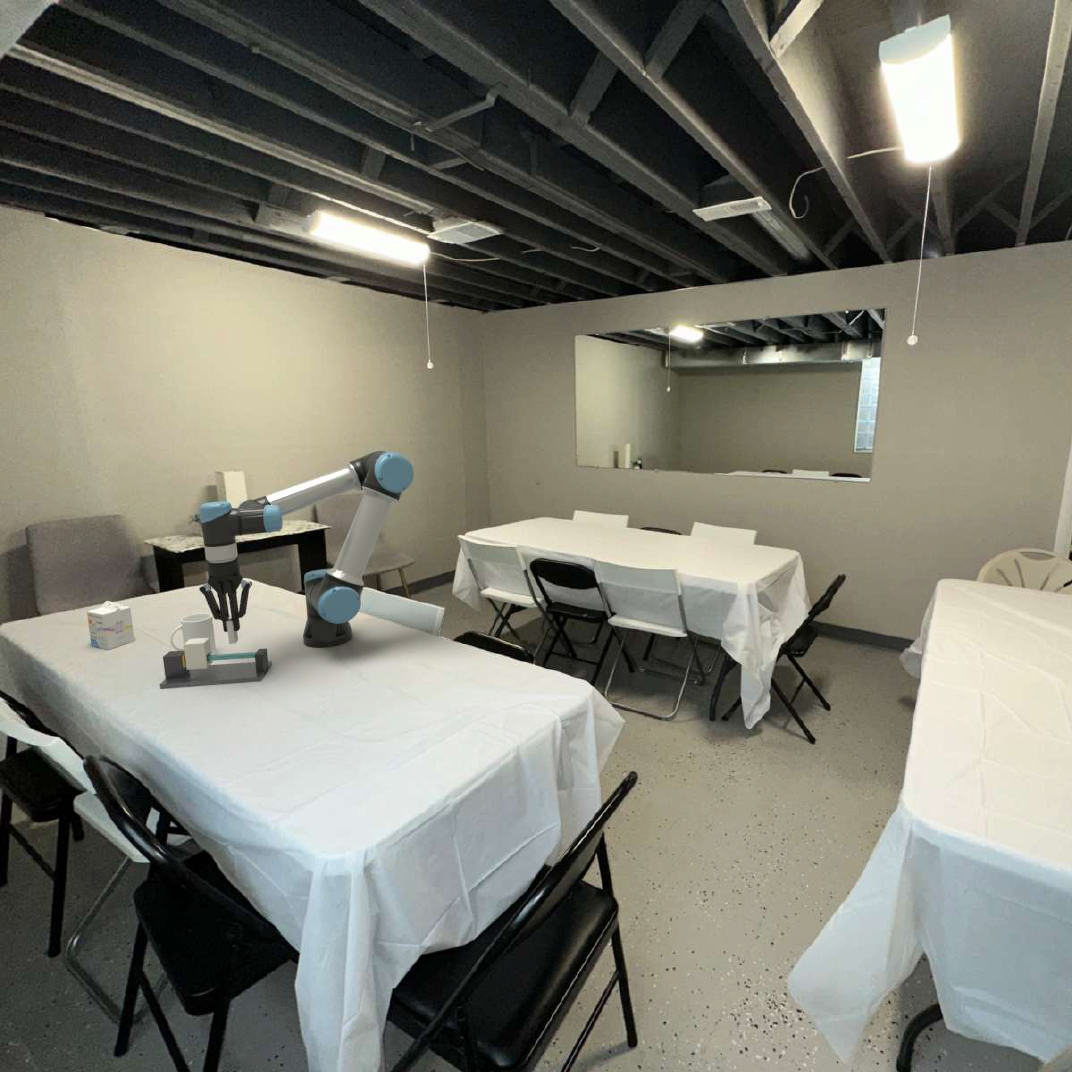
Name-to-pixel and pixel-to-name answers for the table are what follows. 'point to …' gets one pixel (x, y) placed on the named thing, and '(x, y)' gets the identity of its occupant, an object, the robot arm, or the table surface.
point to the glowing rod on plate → (214, 670)
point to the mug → (196, 629)
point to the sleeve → (197, 653)
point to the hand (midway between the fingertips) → (233, 641)
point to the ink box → (110, 626)
